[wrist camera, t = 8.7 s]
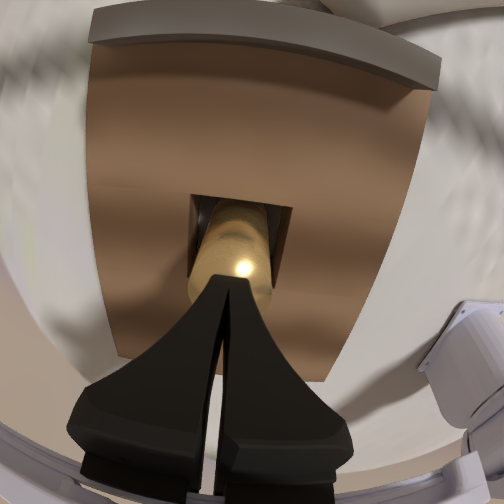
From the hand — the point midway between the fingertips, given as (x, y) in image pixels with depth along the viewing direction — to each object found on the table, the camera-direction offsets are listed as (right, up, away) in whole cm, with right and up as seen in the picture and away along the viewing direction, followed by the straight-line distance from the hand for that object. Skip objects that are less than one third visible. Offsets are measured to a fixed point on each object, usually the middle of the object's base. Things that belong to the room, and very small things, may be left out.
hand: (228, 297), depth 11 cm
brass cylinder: (0, +4, +6) cm, 7 cm away
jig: (0, +4, +6) cm, 7 cm away
